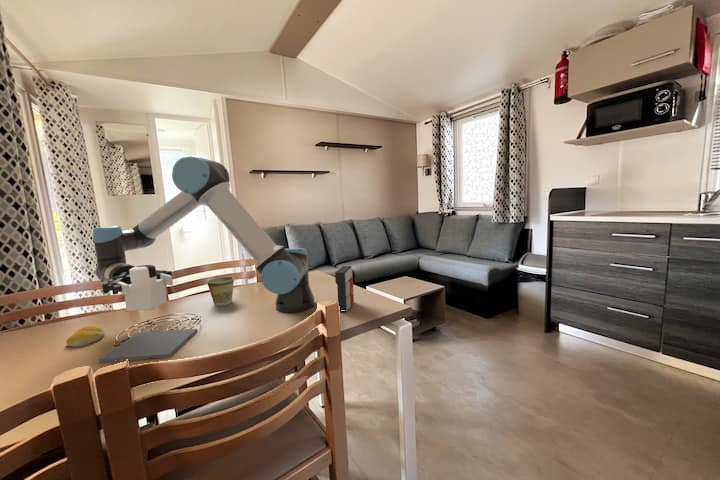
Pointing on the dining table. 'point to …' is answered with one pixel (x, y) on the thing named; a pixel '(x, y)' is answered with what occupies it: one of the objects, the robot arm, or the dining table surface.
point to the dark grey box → (344, 287)
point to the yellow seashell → (85, 336)
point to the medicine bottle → (145, 289)
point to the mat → (150, 345)
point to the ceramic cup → (221, 290)
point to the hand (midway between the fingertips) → (150, 285)
